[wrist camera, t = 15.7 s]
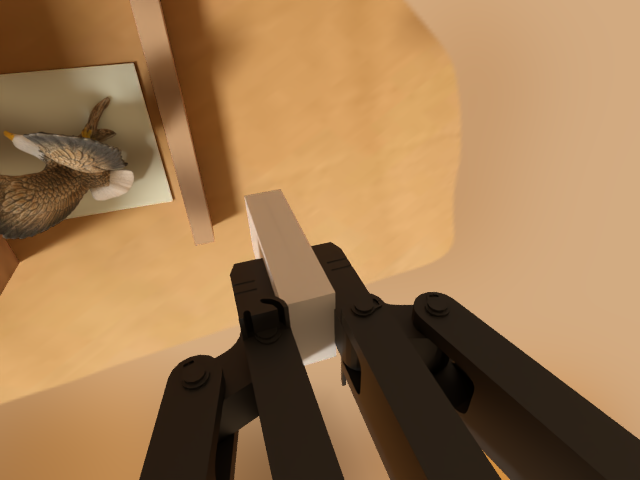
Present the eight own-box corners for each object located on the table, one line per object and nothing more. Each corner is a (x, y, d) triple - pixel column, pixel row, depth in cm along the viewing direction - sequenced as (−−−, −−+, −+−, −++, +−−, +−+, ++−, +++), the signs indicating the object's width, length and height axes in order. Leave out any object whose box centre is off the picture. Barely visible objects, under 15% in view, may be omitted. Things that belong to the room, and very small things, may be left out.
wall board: (-305, -201, 16) (-818, -407, 8) (118, -181, 19) (76, -304, 11) (-4, 266, 29) (-73, 372, 21) (212, 226, 32) (224, 303, 24)
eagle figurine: (36, 64, 23) (-23, 96, 16) (157, 118, 27) (153, 163, 20) (7, 173, 26) (-56, 243, 18) (121, 209, 29) (106, 278, 22)
